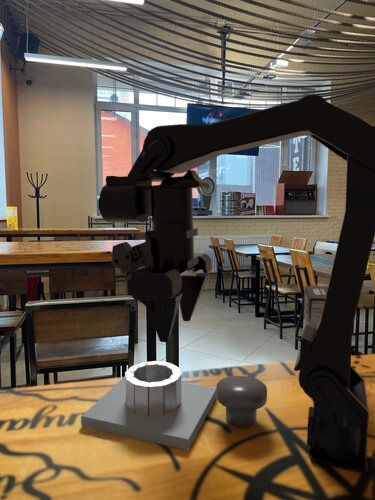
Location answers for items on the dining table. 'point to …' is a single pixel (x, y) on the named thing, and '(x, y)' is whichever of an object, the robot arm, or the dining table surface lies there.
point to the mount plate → (152, 428)
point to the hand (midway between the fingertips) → (176, 330)
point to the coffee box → (313, 304)
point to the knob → (241, 399)
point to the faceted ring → (153, 388)
